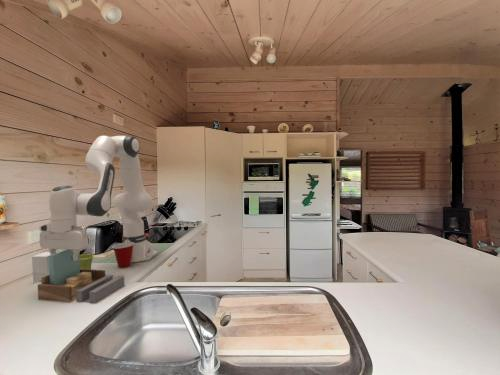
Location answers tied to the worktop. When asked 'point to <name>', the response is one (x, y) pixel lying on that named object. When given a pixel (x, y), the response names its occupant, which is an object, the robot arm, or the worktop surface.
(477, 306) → the worktop surface
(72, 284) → the offcut stack
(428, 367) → the worktop surface
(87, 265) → the plant pot
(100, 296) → the sheet stand
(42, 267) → the supplement box
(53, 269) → the tall sheet
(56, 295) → the open wooden tray
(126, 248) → the plastic cup
